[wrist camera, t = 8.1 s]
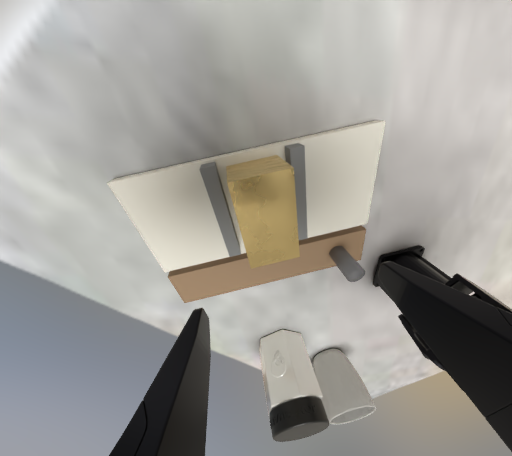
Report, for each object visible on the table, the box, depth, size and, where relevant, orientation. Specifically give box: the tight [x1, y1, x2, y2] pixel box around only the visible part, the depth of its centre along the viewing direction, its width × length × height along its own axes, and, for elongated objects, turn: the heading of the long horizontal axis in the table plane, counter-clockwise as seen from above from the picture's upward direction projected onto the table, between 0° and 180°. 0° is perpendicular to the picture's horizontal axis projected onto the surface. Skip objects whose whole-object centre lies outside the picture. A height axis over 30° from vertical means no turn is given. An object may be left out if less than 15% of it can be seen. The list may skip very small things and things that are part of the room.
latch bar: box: [226, 155, 300, 269], centre depth 16 cm, size 8×4×4 cm, turn 11°
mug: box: [313, 349, 376, 424], centre depth 39 cm, size 13×9×10 cm
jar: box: [259, 329, 329, 442], centre depth 30 cm, size 9×8×12 cm
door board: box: [107, 120, 386, 303], centre depth 19 cm, size 24×16×5 cm
